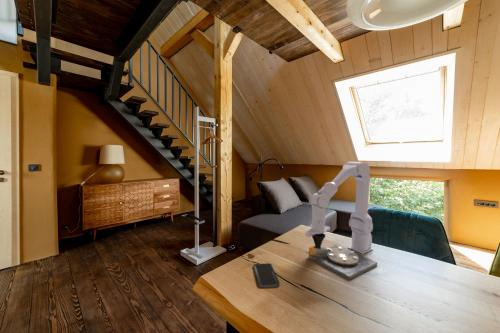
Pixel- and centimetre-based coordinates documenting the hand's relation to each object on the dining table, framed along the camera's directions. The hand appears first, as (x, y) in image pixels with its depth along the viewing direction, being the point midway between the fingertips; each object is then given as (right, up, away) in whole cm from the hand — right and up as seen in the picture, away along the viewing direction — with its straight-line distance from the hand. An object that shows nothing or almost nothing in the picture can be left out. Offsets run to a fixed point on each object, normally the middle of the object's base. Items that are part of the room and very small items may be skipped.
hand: (317, 248), depth 99 cm
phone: (-25, -5, -16) cm, 30 cm away
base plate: (+9, -4, -5) cm, 11 cm away
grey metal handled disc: (+6, -2, -4) cm, 7 cm away
